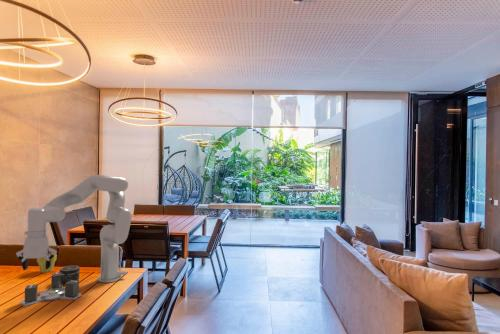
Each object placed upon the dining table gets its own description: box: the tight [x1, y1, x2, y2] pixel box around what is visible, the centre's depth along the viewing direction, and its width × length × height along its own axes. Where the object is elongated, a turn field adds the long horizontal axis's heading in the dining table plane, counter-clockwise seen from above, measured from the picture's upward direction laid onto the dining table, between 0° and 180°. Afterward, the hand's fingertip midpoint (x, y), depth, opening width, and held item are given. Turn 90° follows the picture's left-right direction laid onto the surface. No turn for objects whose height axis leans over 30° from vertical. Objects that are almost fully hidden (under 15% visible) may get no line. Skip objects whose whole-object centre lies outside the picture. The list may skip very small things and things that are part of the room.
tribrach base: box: [20, 284, 83, 307], centre depth 164 cm, size 26×22×3 cm
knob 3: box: [64, 280, 80, 297], centre depth 161 cm, size 5×4×7 cm
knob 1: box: [24, 284, 39, 302], centre depth 154 cm, size 5×4×7 cm
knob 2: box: [50, 271, 62, 289], centre depth 172 cm, size 5×4×7 cm
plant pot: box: [36, 252, 58, 274], centre depth 199 cm, size 10×10×10 cm
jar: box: [59, 265, 81, 285], centre depth 183 cm, size 10×10×8 cm
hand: (36, 268), depth 155 cm, fingers open, 9 cm apart
